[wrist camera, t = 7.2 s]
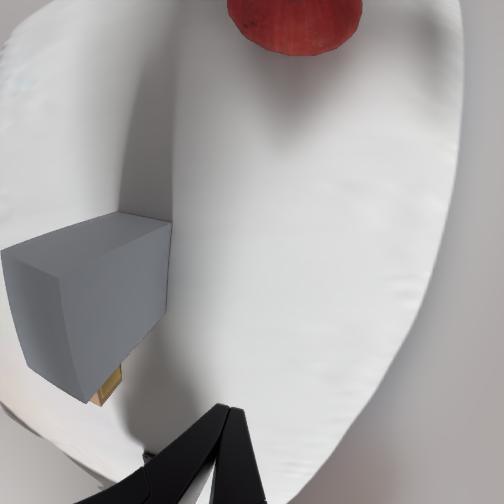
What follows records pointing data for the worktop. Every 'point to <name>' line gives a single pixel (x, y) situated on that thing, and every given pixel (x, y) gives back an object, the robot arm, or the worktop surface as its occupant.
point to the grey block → (87, 296)
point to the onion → (296, 23)
